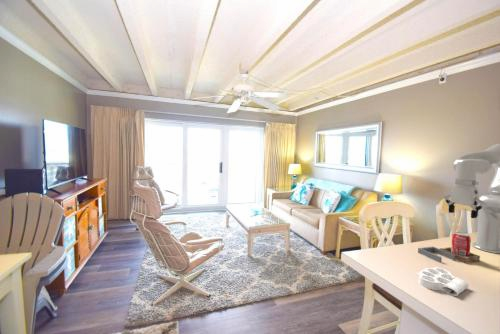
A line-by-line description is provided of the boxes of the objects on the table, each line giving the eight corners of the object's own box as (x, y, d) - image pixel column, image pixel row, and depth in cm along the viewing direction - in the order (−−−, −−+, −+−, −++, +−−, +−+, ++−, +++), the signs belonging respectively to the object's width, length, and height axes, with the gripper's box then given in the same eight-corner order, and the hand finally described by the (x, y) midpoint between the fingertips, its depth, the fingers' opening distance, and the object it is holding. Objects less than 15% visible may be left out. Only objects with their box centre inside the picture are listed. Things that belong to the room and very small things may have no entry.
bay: (432, 250, 121) (432, 246, 121) (455, 260, 111) (455, 255, 111) (417, 252, 118) (418, 248, 118) (439, 262, 108) (440, 257, 108)
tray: (453, 251, 122) (454, 246, 121) (479, 260, 111) (479, 256, 111) (439, 252, 119) (439, 248, 118) (464, 263, 108) (464, 258, 108)
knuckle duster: (453, 301, 79) (408, 280, 92) (471, 287, 88) (427, 270, 101) (454, 292, 79) (409, 273, 92) (471, 279, 88) (428, 263, 101)
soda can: (461, 253, 118) (463, 231, 117) (473, 259, 111) (475, 236, 110) (447, 252, 118) (449, 230, 117) (458, 258, 111) (460, 235, 110)
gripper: (491, 185, 105) (488, 219, 107) (450, 180, 122) (448, 210, 123) (481, 185, 103) (478, 220, 105) (441, 180, 120) (438, 211, 121)
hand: (462, 215), depth 114 cm, fingers open, 9 cm apart
